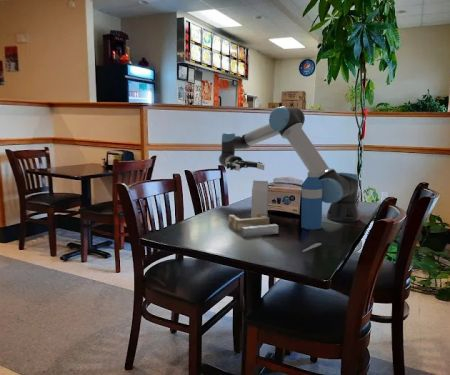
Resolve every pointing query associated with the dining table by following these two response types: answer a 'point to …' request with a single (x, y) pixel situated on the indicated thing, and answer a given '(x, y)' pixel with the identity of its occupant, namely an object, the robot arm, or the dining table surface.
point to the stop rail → (259, 230)
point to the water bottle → (311, 202)
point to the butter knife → (312, 246)
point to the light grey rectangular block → (259, 198)
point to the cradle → (247, 221)
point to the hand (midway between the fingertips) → (251, 167)
